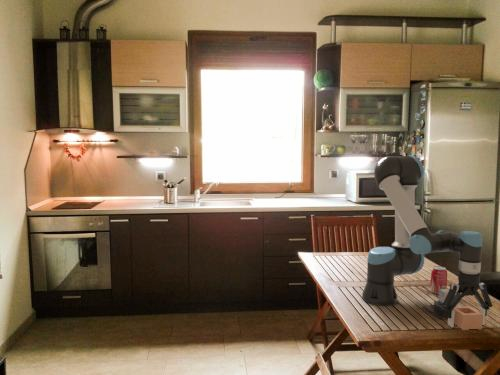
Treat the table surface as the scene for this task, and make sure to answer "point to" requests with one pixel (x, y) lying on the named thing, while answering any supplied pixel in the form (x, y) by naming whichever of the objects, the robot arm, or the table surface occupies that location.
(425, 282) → the table surface
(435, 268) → the soda can
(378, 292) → the robot arm
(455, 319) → the collar
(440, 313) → the post stand
